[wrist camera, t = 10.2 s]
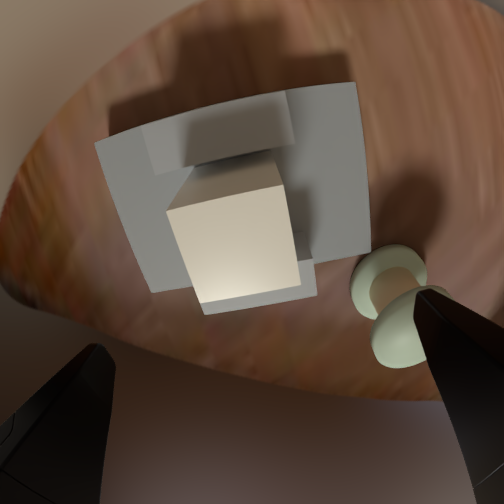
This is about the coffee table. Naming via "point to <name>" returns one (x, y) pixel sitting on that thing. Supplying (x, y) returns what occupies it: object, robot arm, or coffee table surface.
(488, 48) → the coffee table surface
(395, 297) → the spool
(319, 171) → the notch board
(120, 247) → the coffee table surface
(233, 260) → the block
